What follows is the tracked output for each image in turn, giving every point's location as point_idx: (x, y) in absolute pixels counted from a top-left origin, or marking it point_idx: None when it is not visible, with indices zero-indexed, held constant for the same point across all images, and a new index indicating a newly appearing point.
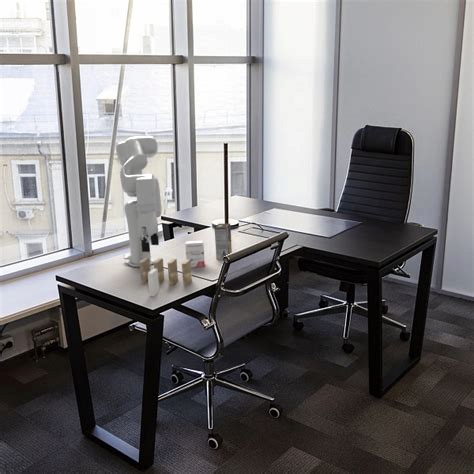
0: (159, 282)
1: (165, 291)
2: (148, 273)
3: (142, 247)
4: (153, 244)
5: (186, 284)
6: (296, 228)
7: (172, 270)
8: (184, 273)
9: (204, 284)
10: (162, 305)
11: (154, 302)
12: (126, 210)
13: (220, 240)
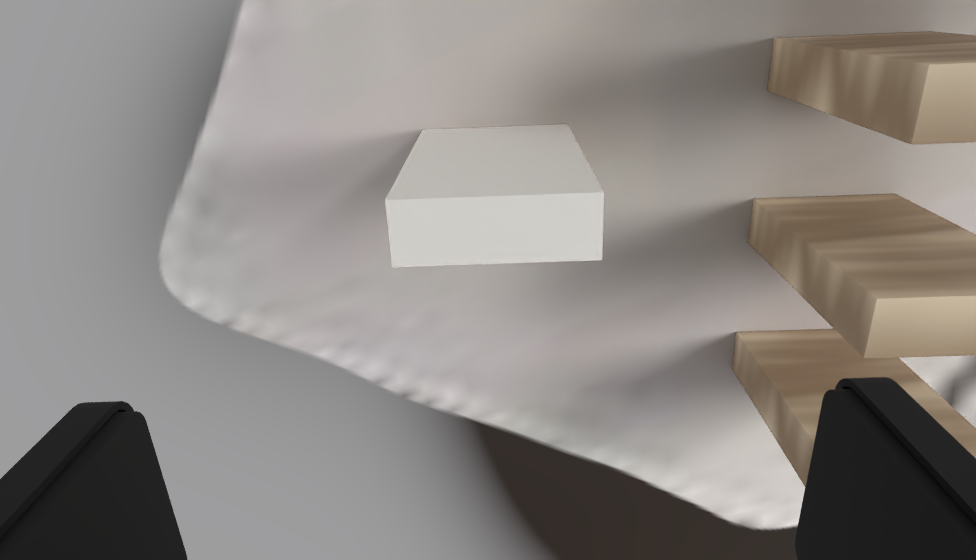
0: (775, 93)
1: None
2: (387, 211)
3: (3, 506)
4: (824, 448)
5: (736, 364)
6: None
7: (817, 308)
8: (780, 418)
9: (762, 480)
10: (246, 332)
11: (285, 243)
12: None
13: None
